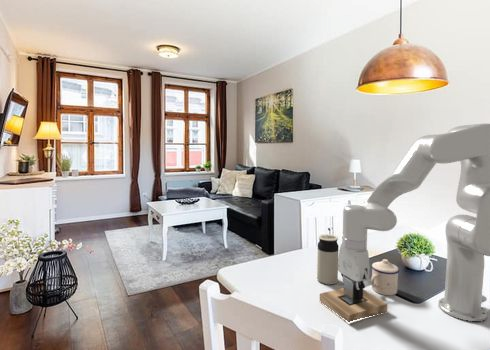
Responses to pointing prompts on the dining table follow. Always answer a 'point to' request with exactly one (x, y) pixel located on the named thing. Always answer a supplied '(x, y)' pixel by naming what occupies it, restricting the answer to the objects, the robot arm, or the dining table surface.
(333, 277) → the travel mug
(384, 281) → the teacup with lid
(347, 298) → the upright grey block
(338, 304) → the well block
